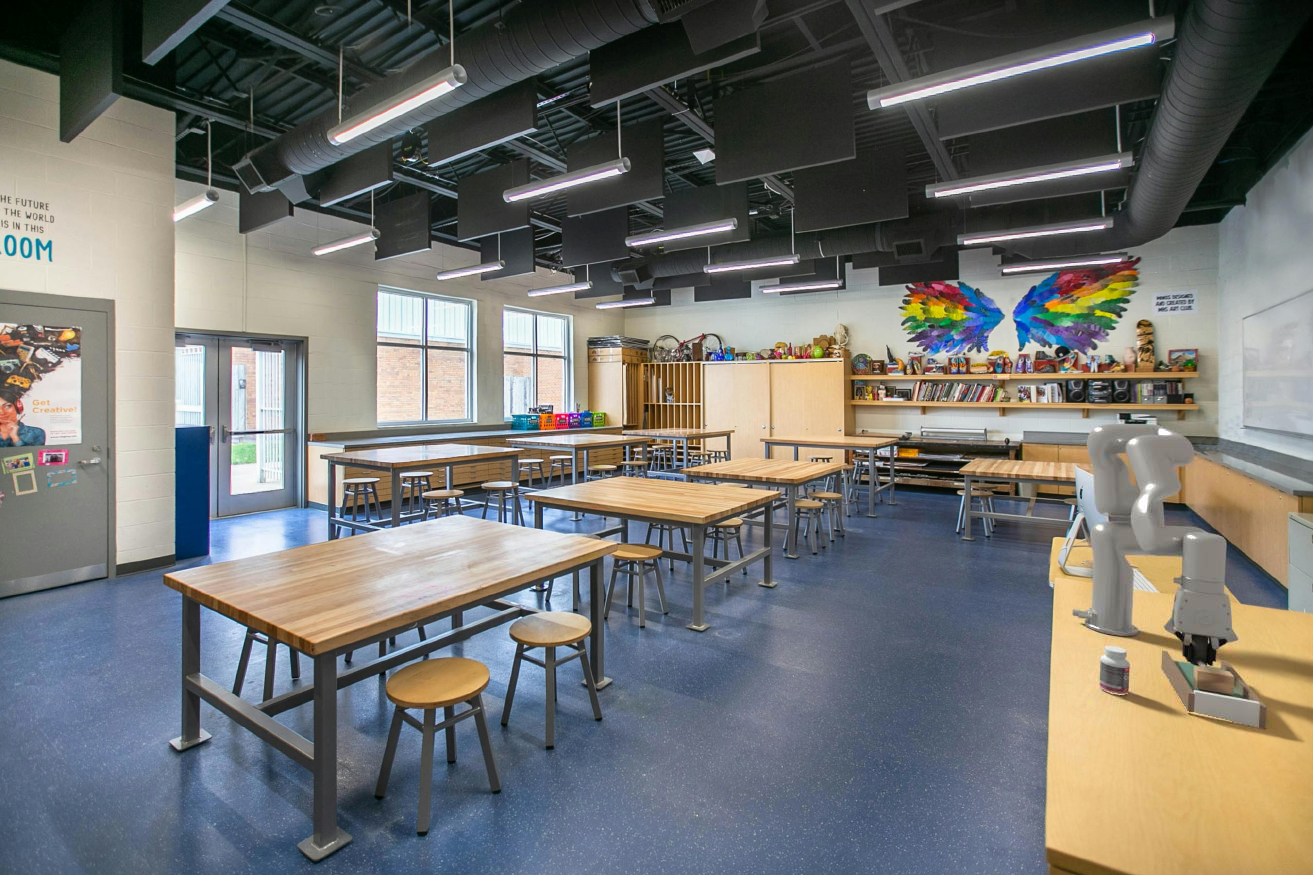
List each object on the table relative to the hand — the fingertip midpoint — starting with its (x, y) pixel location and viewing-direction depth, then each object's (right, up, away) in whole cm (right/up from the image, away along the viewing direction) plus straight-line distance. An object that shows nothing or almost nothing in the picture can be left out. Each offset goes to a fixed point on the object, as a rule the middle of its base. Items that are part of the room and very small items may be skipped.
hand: (1198, 661), depth 143 cm
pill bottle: (-24, -5, -5) cm, 25 cm away
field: (-4, -5, -7) cm, 10 cm away
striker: (-3, -2, -5) cm, 6 cm away
